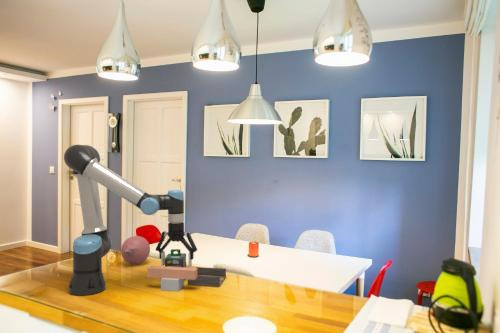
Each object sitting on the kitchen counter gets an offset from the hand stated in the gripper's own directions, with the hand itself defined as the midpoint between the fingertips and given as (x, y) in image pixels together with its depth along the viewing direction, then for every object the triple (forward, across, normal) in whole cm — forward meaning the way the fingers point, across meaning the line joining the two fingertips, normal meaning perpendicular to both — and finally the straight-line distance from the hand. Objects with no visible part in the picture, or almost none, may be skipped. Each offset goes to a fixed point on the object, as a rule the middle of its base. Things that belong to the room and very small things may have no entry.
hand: (176, 265), depth 191 cm
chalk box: (+7, 0, 0) cm, 7 cm away
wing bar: (+1, -3, +13) cm, 13 cm away
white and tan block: (+6, -3, +13) cm, 15 cm away
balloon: (+6, +31, -20) cm, 38 cm away
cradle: (+7, -16, +1) cm, 17 cm away
